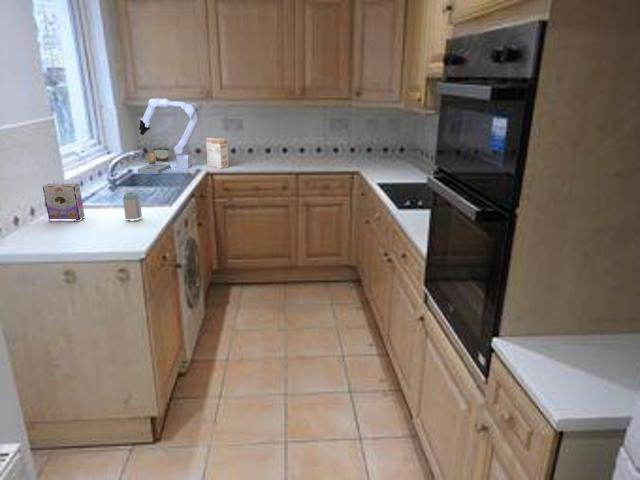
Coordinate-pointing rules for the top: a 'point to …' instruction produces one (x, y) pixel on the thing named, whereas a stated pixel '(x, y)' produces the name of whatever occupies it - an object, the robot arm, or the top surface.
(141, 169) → the board
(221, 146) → the coffeecake box
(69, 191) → the candy box
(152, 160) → the peg
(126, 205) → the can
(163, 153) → the food container
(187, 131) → the robot arm
